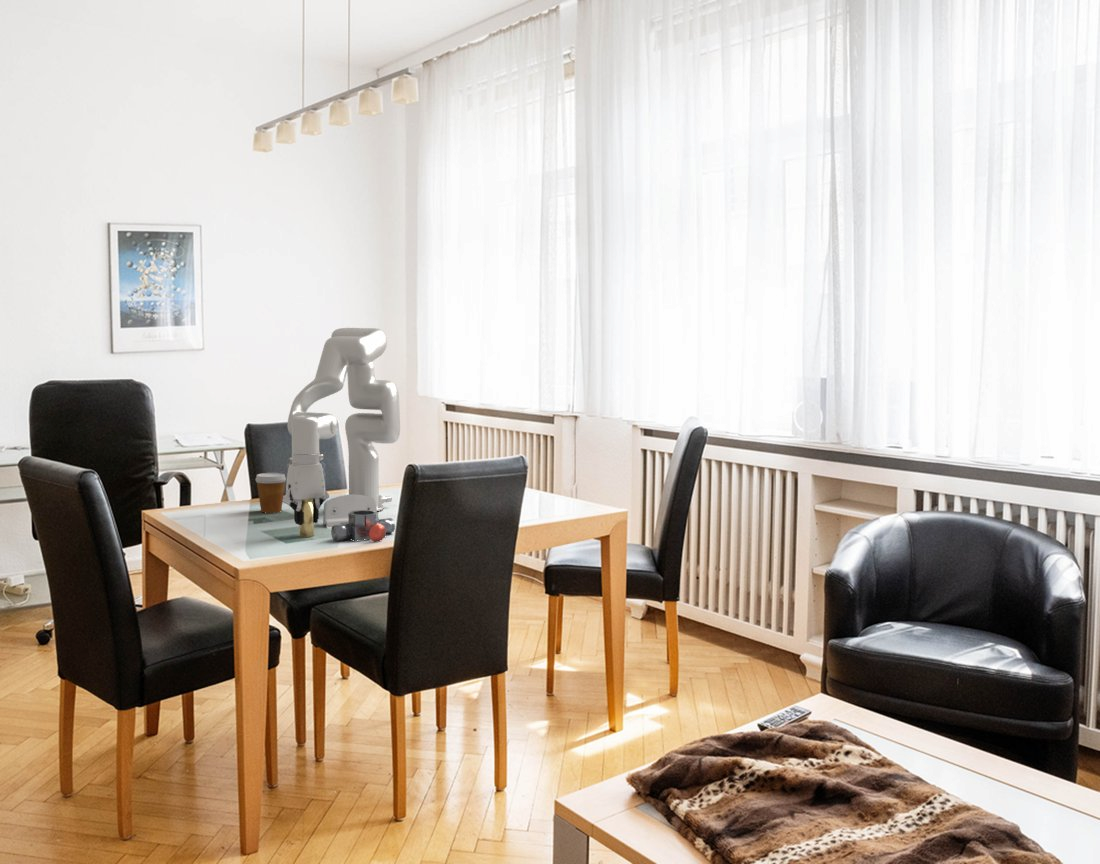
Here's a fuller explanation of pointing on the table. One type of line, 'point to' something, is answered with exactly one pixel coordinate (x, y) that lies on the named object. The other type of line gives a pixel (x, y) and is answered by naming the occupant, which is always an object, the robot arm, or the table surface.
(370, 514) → the valve body
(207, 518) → the table surface
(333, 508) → the white slotted block
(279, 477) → the disposable coffee cup
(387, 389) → the robot arm
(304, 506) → the brass cylinder
